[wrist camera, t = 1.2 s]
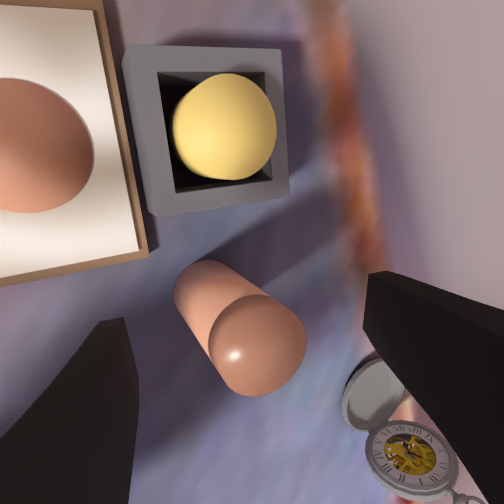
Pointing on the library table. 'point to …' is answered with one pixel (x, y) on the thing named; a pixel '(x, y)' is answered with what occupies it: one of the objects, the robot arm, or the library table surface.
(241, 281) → the brown cylinder
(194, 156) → the button
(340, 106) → the library table surface
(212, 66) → the button base
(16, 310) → the library table surface
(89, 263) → the colouring board
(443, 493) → the pocket watch
